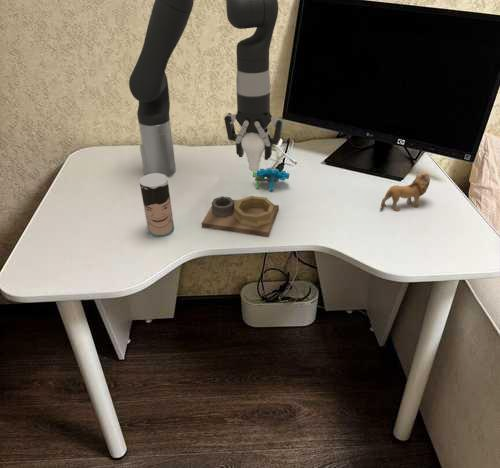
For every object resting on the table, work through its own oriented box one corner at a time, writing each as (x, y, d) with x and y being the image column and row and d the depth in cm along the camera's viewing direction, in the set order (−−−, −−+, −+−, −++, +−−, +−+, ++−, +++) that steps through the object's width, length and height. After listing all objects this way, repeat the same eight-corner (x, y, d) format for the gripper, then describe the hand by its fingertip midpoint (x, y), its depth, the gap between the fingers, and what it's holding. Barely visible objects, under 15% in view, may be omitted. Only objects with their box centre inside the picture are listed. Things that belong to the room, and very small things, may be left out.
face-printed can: (143, 235, 119) (134, 184, 110) (155, 221, 124) (147, 171, 115) (167, 239, 117) (159, 188, 108) (178, 225, 122) (172, 175, 114)
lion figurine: (417, 195, 133) (423, 167, 128) (429, 204, 129) (436, 176, 124) (374, 206, 128) (379, 178, 123) (386, 216, 124) (391, 187, 119)
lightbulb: (269, 167, 117) (269, 126, 110) (262, 179, 112) (262, 137, 106) (246, 164, 118) (245, 123, 112) (238, 175, 114) (237, 133, 107)
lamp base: (201, 227, 121) (200, 213, 119) (217, 202, 131) (216, 188, 129) (268, 236, 117) (268, 222, 115) (278, 210, 128) (279, 196, 125)
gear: (293, 176, 140) (285, 166, 130) (291, 195, 139) (283, 186, 129) (258, 176, 143) (248, 165, 134) (256, 194, 142) (246, 185, 133)
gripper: (217, 92, 102) (221, 161, 112) (281, 97, 99) (279, 167, 109) (227, 82, 108) (230, 148, 117) (287, 86, 104) (285, 153, 114)
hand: (254, 157), depth 113 cm, fingers closed on lightbulb, 6 cm apart
